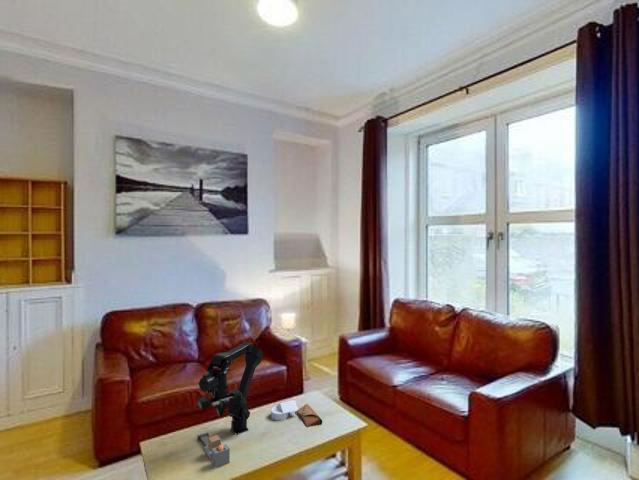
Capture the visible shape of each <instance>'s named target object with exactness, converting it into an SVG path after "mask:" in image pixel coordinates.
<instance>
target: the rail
mask: <svg viewBox="0 0 639 480" xmlns="http://www.w3.org/2000/svg"><path fill="white" fill-rule="evenodd" d="M196 436H197V437H196V440H197V441H200V442H201V444H202V445H203V447H204V448H205V447H206V446H208V438H209V437H210V436H209V432H207V431H206V432H204V433H202V434H198V435H196Z"/></svg>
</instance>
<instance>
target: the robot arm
mask: <svg viewBox="0 0 639 480" xmlns="http://www.w3.org/2000/svg"><path fill="white" fill-rule="evenodd" d="M243 355H245V356H244V362H245V367H244V371H243V374H242V376H241V379H240V383H239V385H238V387H237V388H234V389H231V390H229V393H228V389H229V386H228V372H229V371H230V370H231V368H230V366H232V363H233V362H234V361H236V360H237V359H238V358H241V357H242V356H243ZM263 358H264V351H263V350H262V349H261V348H260V349H259V348H258V347H257V346H254V345H253V344H252V343H250V342H242V343H241V344H239V345H237V346H236V347H234V348H231V349H230V350H228V351H226V352H219V353H216V354H214V355H213V356H212V358H211V360H210V362H209V365H208V367H207V369H206V372H207V373H205V374H202V378H201V377H200V379H199V382H198V386H199V389H200V391H202V392H205V394H209V395H211V396H212V397H211V398H209V397H208V396H203V397H200V398H198V400H197V406H198V407H199V408H200V409H201V410H205V409H208V408H211V406H212V407H213V408H215V409H216V413H217V415H218V417H219V419H220V418H222V417H223V415H224V413H225V411H226V410H227V413H228V416H229V417H230V418H231V421H230V422H231V423H230V426H231V427H230V429H231V431H232V432H233V433H234V434H235V435H238V434H240V433H244V432H247V431H249V428H248V427H247V426H248V420H249V418H250V415H251V411H249V409H247V408H248V401H247V396H248V393H249V390H250V386H251V383H252V379H253V377H254V374H255V371H256V368H257V367H258V366H259V365H260V364H261V362H262V360H263ZM226 408H227V409H226Z"/></svg>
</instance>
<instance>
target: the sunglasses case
mask: <svg viewBox="0 0 639 480" xmlns="http://www.w3.org/2000/svg"><path fill="white" fill-rule="evenodd" d="M294 413H295V414H296V413H297V414H298V415H299V416H298V415H297V414H296V415H297V416H298V417H299V418H300V420H302V422H303V423H304V424H305V427H306V428H310V427H314V426H319V425H320V426H321V425H322V424H323V419H322V418H321V417H320V416H319V415H318V413H317V412H316V411H315V410H314V409H313V408H312V407H311V406H310V405H308V403H306V404H304V405H302V406H301V407H300V408H298V410H296V411H294Z"/></svg>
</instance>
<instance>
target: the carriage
mask: <svg viewBox="0 0 639 480" xmlns="http://www.w3.org/2000/svg"><path fill="white" fill-rule="evenodd" d="M219 445H222V439H221V438H220V436H219V435H218V434H217V435H213V436H209V438H208V446H206V447H205V446H204V450H205V453H206V455H207V456H208V457H209V460H212V449H213V448H216V447H218V446H219Z"/></svg>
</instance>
